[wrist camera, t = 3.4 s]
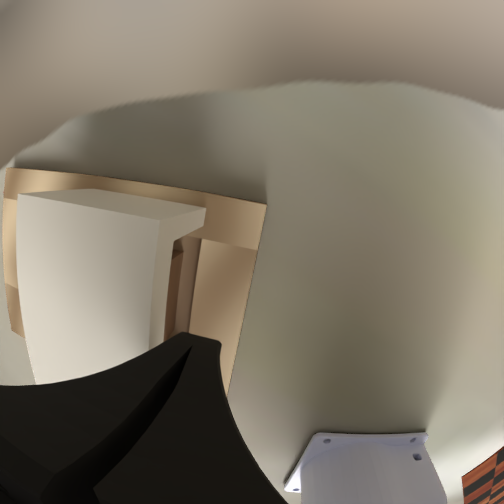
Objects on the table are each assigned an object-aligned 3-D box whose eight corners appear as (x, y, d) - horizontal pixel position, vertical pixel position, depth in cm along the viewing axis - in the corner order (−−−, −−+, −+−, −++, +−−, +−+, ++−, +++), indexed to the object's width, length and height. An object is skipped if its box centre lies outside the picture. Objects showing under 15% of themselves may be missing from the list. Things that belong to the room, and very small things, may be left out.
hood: (206, 207, 12) (160, 220, 7) (183, 374, 14) (149, 442, 9) (93, 188, 13) (17, 193, 7) (89, 342, 14) (37, 389, 9)
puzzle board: (267, 203, 13) (266, 205, 12) (225, 404, 16) (222, 415, 15) (16, 167, 14) (6, 167, 13) (19, 325, 16) (11, 330, 16)
